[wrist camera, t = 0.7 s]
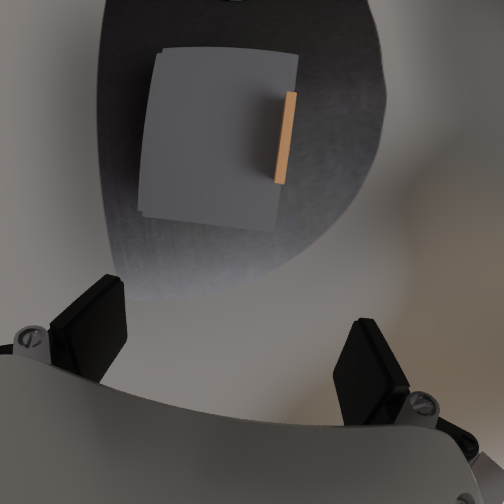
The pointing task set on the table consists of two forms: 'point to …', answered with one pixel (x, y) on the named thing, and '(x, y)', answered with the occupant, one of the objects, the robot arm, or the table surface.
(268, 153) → the lid
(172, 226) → the table surface
